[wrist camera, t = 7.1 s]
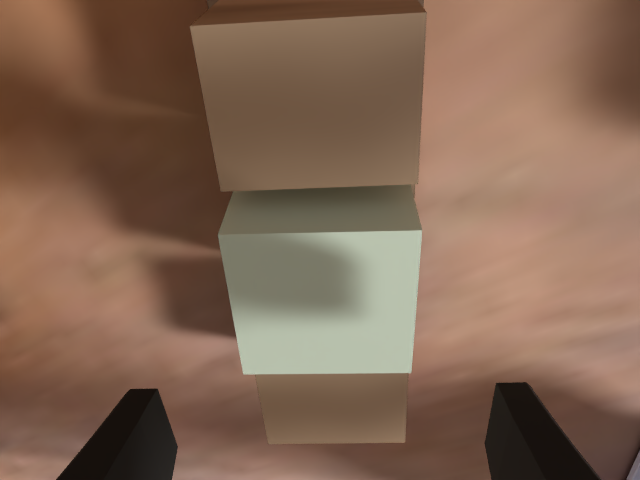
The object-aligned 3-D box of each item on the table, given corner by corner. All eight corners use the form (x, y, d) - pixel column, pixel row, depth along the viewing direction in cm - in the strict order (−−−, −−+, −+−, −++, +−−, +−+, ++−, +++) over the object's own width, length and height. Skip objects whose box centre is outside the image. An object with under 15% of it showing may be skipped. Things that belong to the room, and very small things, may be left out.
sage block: (395, 270, 19) (411, 372, 15) (263, 273, 20) (243, 374, 16) (401, 146, 17) (422, 230, 13) (247, 151, 17) (217, 234, 13)
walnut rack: (404, 347, 23) (418, 447, 19) (270, 349, 23) (255, 448, 19) (420, -32, 15) (451, -3, 11) (212, -19, 15) (164, 14, 11)
